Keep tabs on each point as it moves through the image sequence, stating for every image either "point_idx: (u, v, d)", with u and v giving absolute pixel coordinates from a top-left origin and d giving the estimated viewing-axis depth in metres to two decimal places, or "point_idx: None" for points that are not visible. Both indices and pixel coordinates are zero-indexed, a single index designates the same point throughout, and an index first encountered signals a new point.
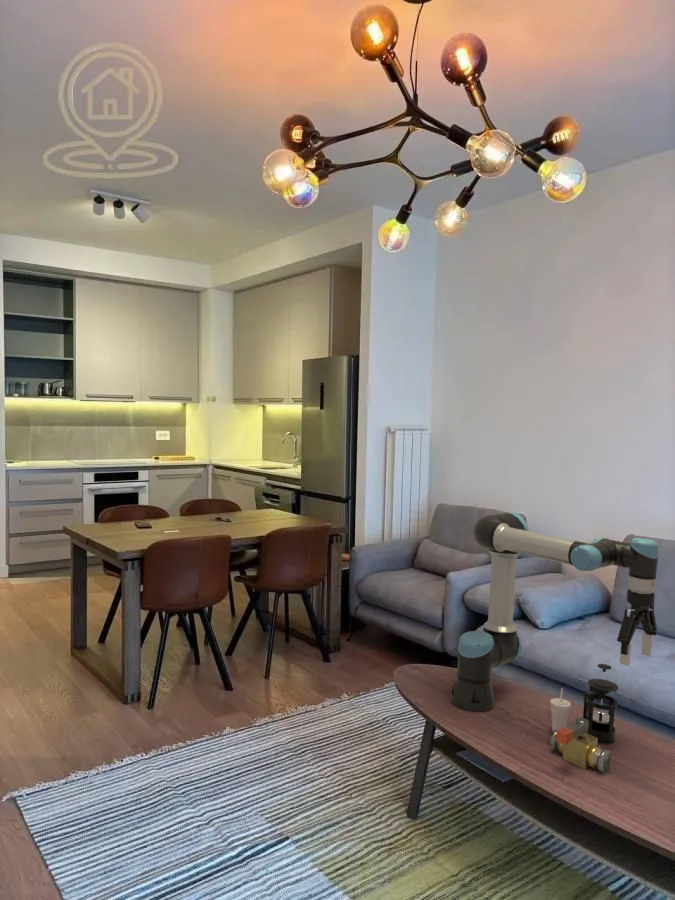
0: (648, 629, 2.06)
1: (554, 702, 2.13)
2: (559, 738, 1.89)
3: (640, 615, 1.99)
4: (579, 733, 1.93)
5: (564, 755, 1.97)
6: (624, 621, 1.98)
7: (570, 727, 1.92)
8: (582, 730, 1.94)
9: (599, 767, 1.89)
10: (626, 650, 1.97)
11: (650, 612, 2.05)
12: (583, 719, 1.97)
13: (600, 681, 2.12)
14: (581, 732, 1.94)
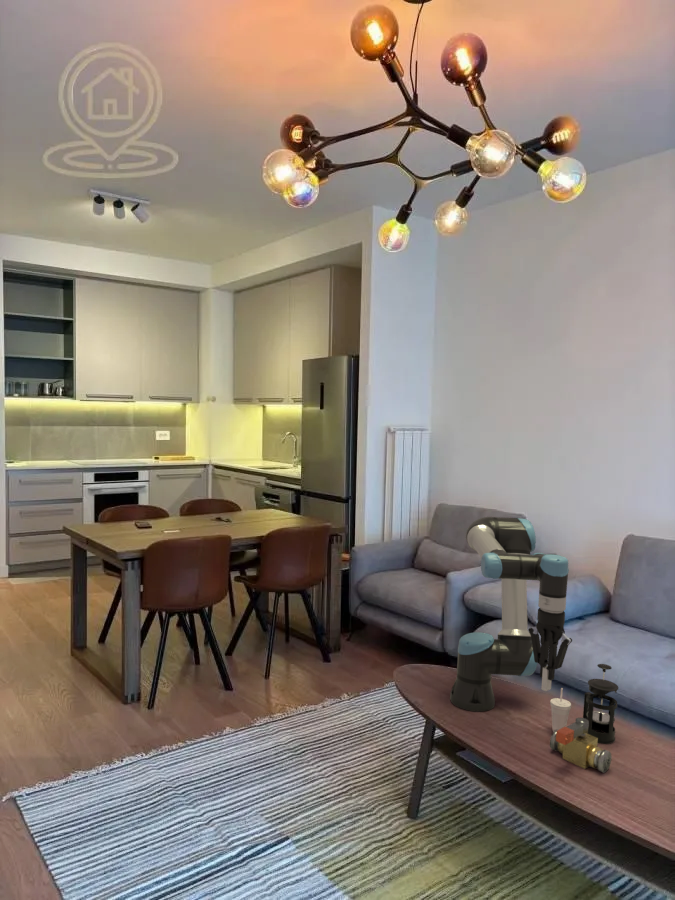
0: None
1: (554, 702, 2.13)
2: (559, 738, 1.89)
3: None
4: (579, 733, 1.93)
5: (564, 755, 1.97)
6: None
7: (570, 727, 1.92)
8: (582, 730, 1.94)
9: (599, 767, 1.89)
10: (541, 672, 1.95)
11: None
12: (583, 719, 1.97)
13: (600, 681, 2.12)
14: (581, 732, 1.94)
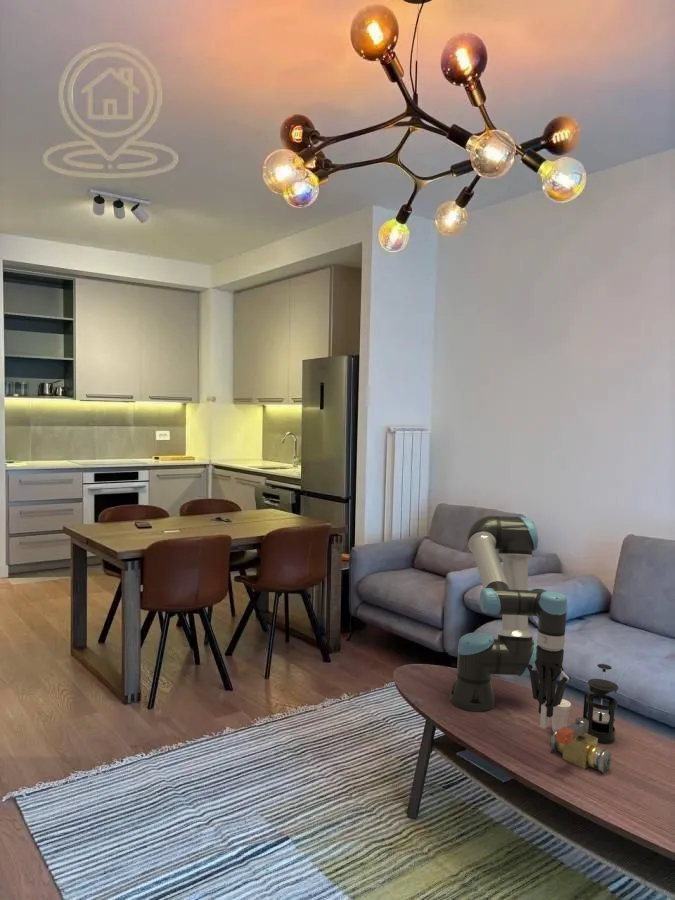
0: None
1: None
2: (559, 738, 1.89)
3: None
4: (579, 733, 1.93)
5: (564, 755, 1.97)
6: None
7: (570, 727, 1.92)
8: (582, 730, 1.94)
9: (599, 767, 1.89)
10: (540, 709, 1.96)
11: None
12: (583, 719, 1.97)
13: (600, 681, 2.12)
14: (581, 732, 1.94)
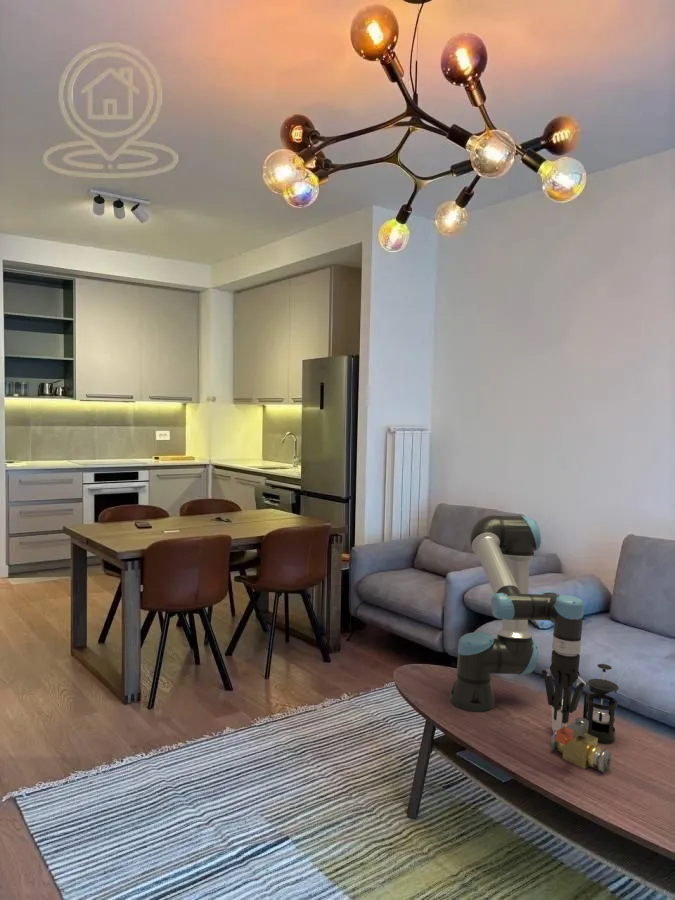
0: None
1: None
2: (559, 738, 1.89)
3: None
4: (579, 733, 1.93)
5: (564, 755, 1.97)
6: None
7: (570, 727, 1.92)
8: (582, 730, 1.94)
9: (599, 767, 1.89)
10: (555, 715, 1.92)
11: None
12: (583, 719, 1.97)
13: (600, 681, 2.12)
14: (581, 732, 1.94)
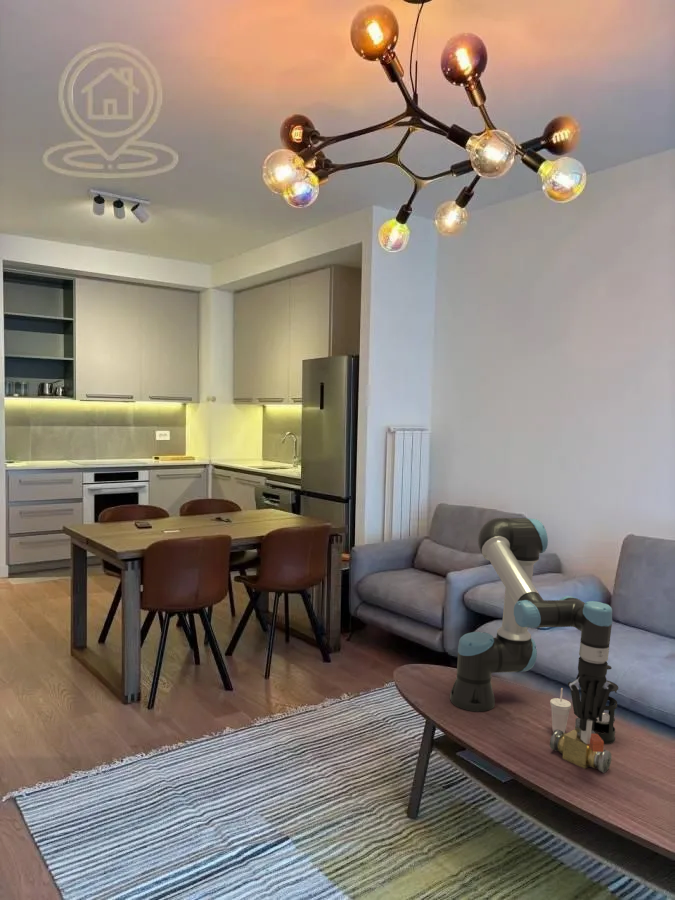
0: (591, 709, 1.87)
1: (554, 702, 2.13)
2: (595, 747, 1.85)
3: (587, 687, 1.85)
4: None
5: (564, 755, 1.97)
6: (572, 695, 1.87)
7: None
8: None
9: (599, 767, 1.89)
10: (584, 726, 1.86)
11: (605, 691, 1.87)
12: None
13: None
14: None
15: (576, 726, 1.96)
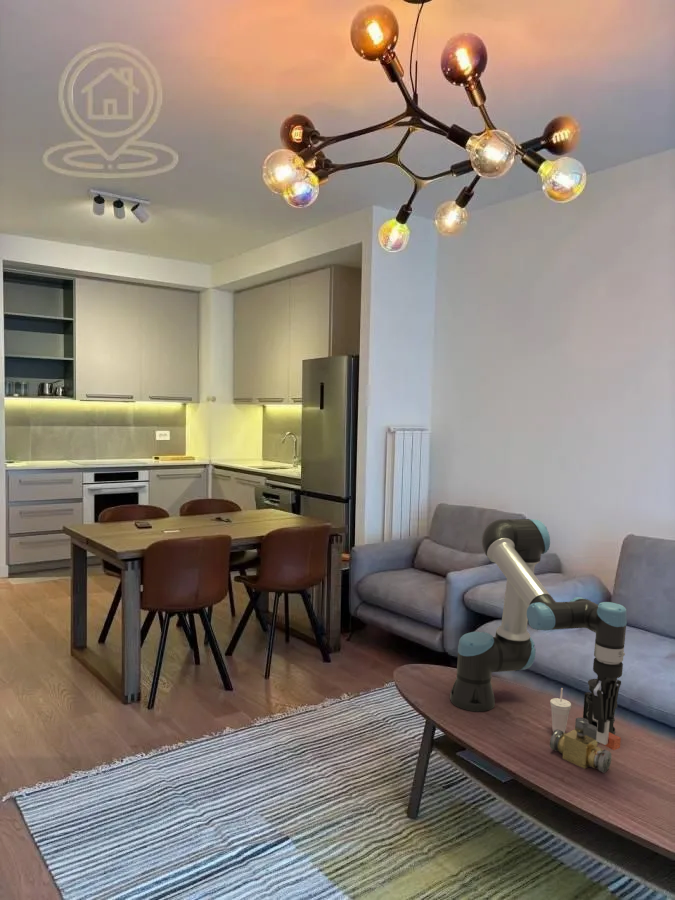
0: None
1: (554, 702, 2.13)
2: (615, 746, 1.86)
3: (608, 689, 1.84)
4: None
5: (564, 755, 1.97)
6: (594, 700, 1.84)
7: None
8: None
9: (599, 767, 1.89)
10: (603, 728, 1.86)
11: (615, 688, 1.89)
12: (578, 719, 1.97)
13: None
14: None
15: (579, 727, 1.95)
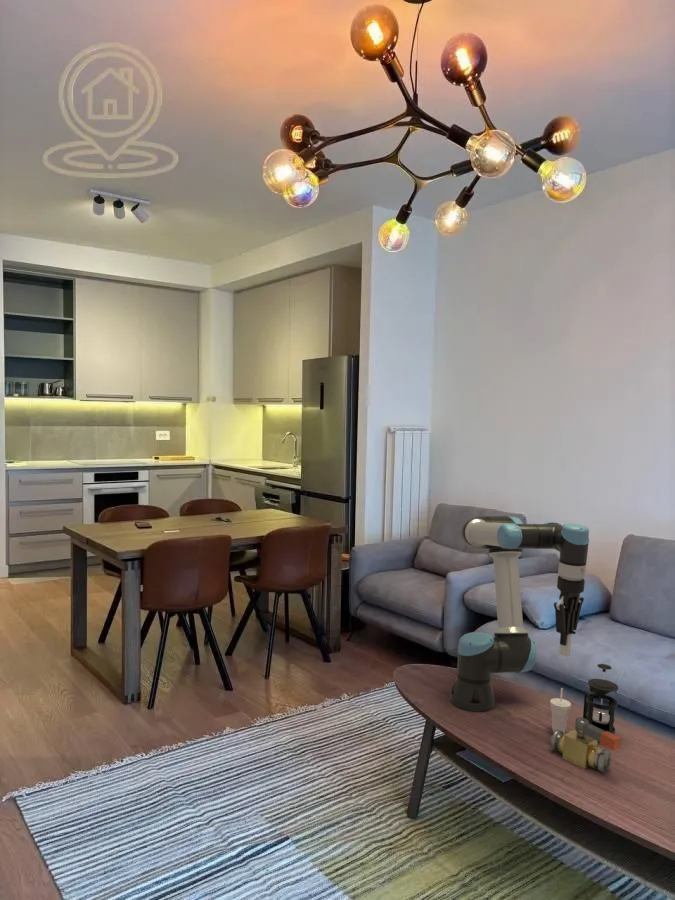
0: None
1: (554, 702, 2.13)
2: (615, 746, 1.86)
3: (570, 604, 1.96)
4: None
5: (564, 755, 1.97)
6: (557, 614, 1.95)
7: (599, 731, 1.91)
8: None
9: (599, 767, 1.89)
10: (565, 641, 1.98)
11: (578, 604, 2.00)
12: (578, 719, 1.97)
13: (600, 681, 2.12)
14: None
15: (579, 727, 1.95)
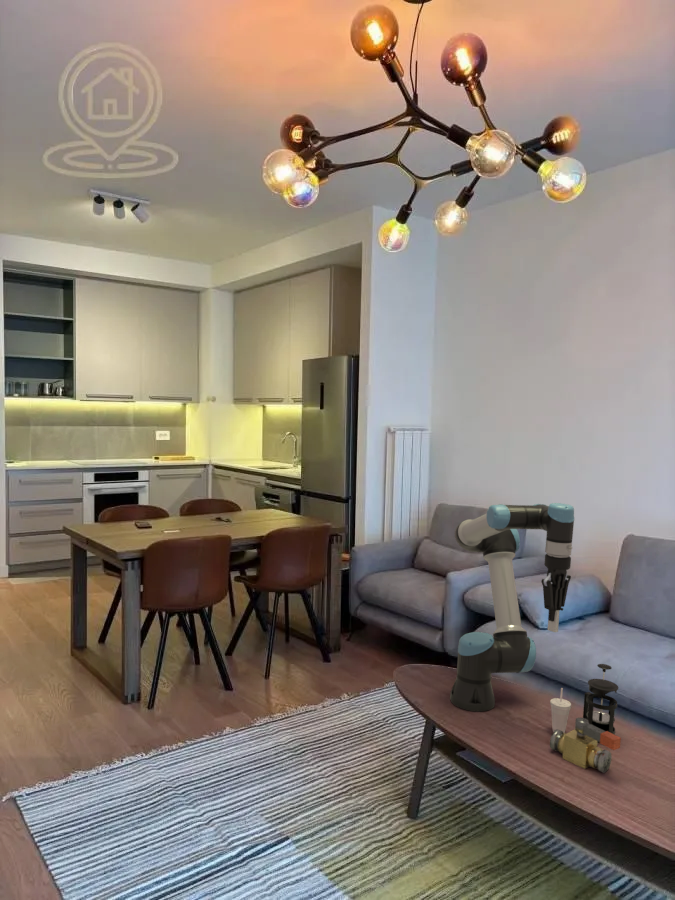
0: (557, 601, 2.06)
1: (554, 702, 2.13)
2: (615, 746, 1.86)
3: (557, 580, 2.03)
4: None
5: (564, 755, 1.97)
6: (544, 591, 2.02)
7: (599, 731, 1.91)
8: None
9: (599, 767, 1.89)
10: (553, 617, 2.04)
11: (565, 582, 2.07)
12: (578, 719, 1.97)
13: (600, 681, 2.12)
14: None
15: (579, 727, 1.95)
